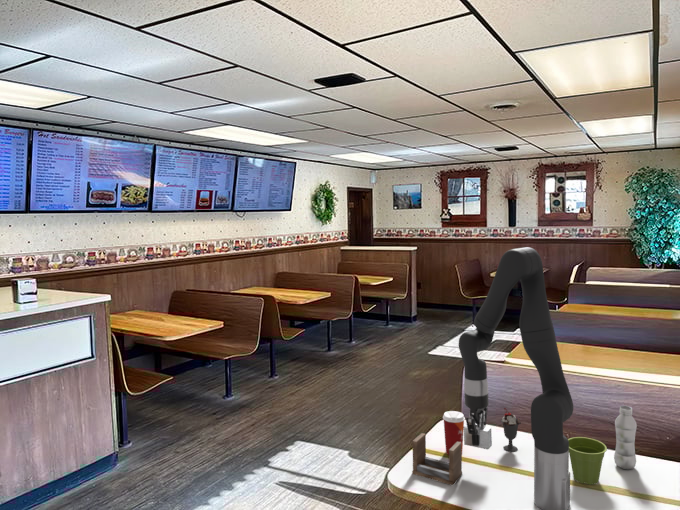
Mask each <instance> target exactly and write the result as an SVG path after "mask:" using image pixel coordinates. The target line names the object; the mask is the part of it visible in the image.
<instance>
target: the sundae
mask: <svg viewBox="0 0 680 510" xmlns="http://www.w3.org/2000/svg"><path fill="white" fill-rule="evenodd" d="M503 409H504V410H505V413H504V416H503V417H502V419H501V420H500V422H501V424H502V426H503V433H504V437H506V439H507V440H508V444H507V445H504V446H503V450H505V451H506V452H510V453H514V452H517V451H518V448H517V447H516V446H515V445H513V440H514V439H516V438H517V435H518V428H519V425H521V421H520V416H518V418H517V417H516V415H515V414H513V413H511V412H509V411H508V409H507V408H506V407H505V408H503ZM507 412H508V413H507Z"/></svg>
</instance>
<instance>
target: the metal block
mask: <svg viewBox="0 0 680 510" xmlns="http://www.w3.org/2000/svg"><path fill="white" fill-rule="evenodd" d="M476 429H477V428H476ZM492 440H493V437H492V427H490V426H487V425H486V426H481V427H480V428H479V446H475V445H472V434H469V433H468V428H467V423H466V424H464V430H463V446H464V445H465V446H470V447H474V448H478V449H479V448H480V449H484V450H490V448H491V447H492V445H493V443H492V442H493V441H492Z"/></svg>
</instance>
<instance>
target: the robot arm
mask: <svg viewBox="0 0 680 510" xmlns="http://www.w3.org/2000/svg"><path fill="white" fill-rule="evenodd" d="M544 273H545V272H544V266H543V261H542V258H541V256H540V254H539V252H538V251H537V250H536V249H534V248H532V247H527V246H526V247H518V248H512V249H509V250H507V251H505V252H504V253H503V255H502V256H501V258H500V261H499V263H498V265H497V269H496V270H495V274H494V276H493V280H492V283H491V285H490V287H489V290H488V293H487V294H486V295H487V296H486V297H485V299H484V301H483V302H482V305H481V307H480V308H479V310H478V312H477V313H476V316H475V318H474V321H473V325H474V327H475V329H474V330H470V331H465V332H463V333H462V334H460V336H459V338H458V349H459V353H460V355H461V359H462V363H463V367H464V370H463V371H464V381H463V382H464V383H463V385H464V386H463V388H464V389H463V390H464V391H463V392H464V405H465V406H466V407H467V408H469V412H468V416H469V417H466V418H465V423H466V424H467V428H468V433H469V434H472V445H475V446H479V428H480V427H481V426H486V427H487V421H488V420H487V417H488V407H489V383H488V375H487V374H488V371H487V363H486V360H484V359H483V358H479V356H478V353H480V352H483V351H485V350H487V349H488V348H489V347H490V346H491V344H492V342H493V339H494V335H495V332H496V329H497V327H498V326H499V323H500V322H501V320H502V319H503V317H504V315H505V312H506V309H507V301H508V297H509V294H510V293H511V291H512V289H513V288H514V287H515V285H516V284H517V283H518V282H520V285H521V290H522V291H521V292H522V305H521V309H520V315H519V325H518V326H519V327H518V328H519V332H520V337H521V340H522V345H523V348H524V351H525V353H526V355H527V356H528V358H529V360H530V361H531V362H532V365H534V367H535V369H536V370H537V372H538V375H539V378H540V384H541V390H542V393H541V394H539V395H537V396H536V397H534V398H533V399H532V401H531V405H530V426H531V427H530V431H531V436H532V439H533V440H534V445H533V446H534V447H533V448H534V450H533V451H534V452H533V453H534V454H533V455H534V458H533V462H534V463H533V466H534V467H533V471H534V472H533V473H534V474H533V501H534V504H535V505H536V507H538V508H539V509H541V510H568V509H569V507H570V504H571V472H570V471H569V468H570V467H569V465H570V464H569V461H570V455H569V441H568V439H569V438H568V437H566V435H564V424H563V423H565V422H566V421H567V420H569V419H570V418H571V417H572V415H573V412H574V402H573V399H572V394H571V393H570V388H569V386H568V384H567V381H566V378H565V377H566V376H565V374H564V370H563V366H562V361H561V357H560V352H559V348H558V344H557V338H556V333H555V328H554V324H553V320H552V315H551V311H550V307H549V306H550V305H549V302H548V296H547V292H546V291H547V290H546V283H545V275H544ZM476 428H477V429H476Z"/></svg>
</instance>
